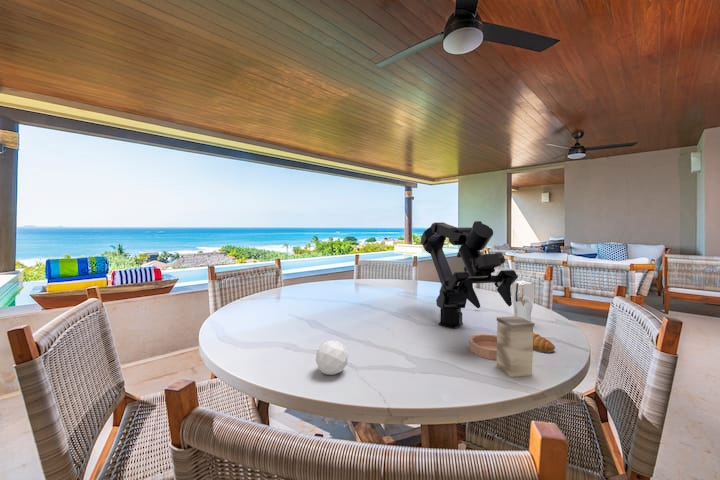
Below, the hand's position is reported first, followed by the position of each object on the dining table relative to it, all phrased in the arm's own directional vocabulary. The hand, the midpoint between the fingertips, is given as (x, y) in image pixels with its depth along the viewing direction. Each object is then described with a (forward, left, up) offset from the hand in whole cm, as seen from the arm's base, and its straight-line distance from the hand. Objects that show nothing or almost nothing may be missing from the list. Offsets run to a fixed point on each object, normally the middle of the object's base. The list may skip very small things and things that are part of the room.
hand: (494, 306), depth 81 cm
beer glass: (-1, +32, -14) cm, 35 cm away
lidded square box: (+6, -5, -14) cm, 16 cm away
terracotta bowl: (-2, +3, -13) cm, 14 cm away
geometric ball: (-26, -35, -14) cm, 46 cm away
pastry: (+6, +14, -14) cm, 21 cm away
